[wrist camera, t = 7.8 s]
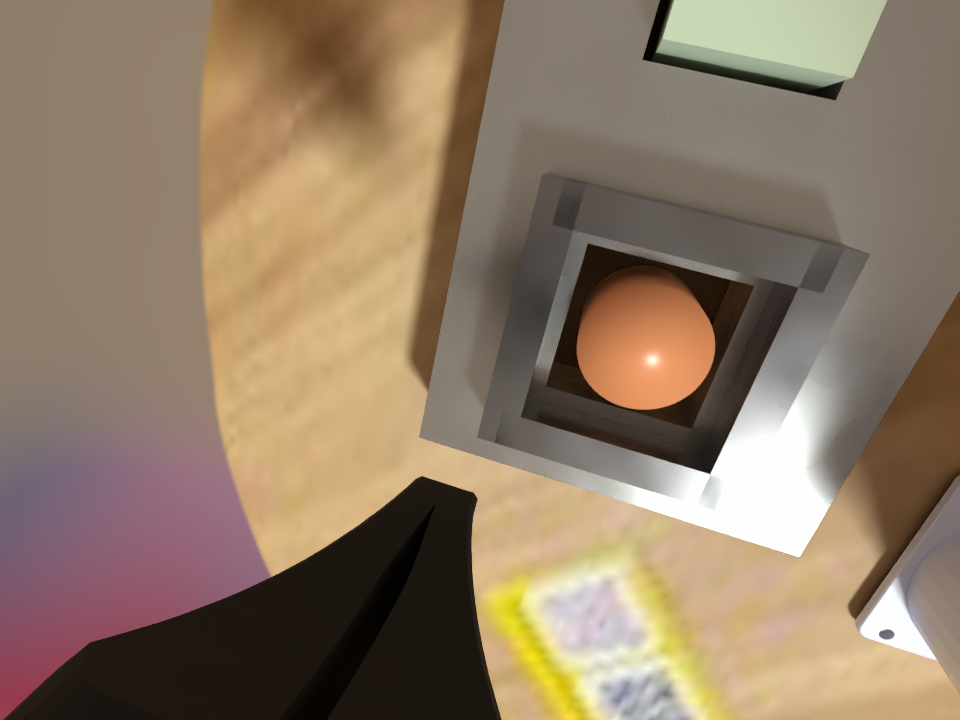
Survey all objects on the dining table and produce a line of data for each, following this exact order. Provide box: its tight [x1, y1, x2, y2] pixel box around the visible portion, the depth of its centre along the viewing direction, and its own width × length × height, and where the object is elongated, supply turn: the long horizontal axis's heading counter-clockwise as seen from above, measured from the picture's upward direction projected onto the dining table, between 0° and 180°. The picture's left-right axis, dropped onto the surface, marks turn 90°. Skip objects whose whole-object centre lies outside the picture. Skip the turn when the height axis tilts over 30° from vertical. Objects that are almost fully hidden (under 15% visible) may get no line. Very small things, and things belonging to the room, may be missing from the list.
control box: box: [419, 0, 960, 556], centre depth 15 cm, size 14×22×4 cm, turn 168°
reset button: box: [577, 266, 715, 410], centre depth 17 cm, size 4×4×3 cm
